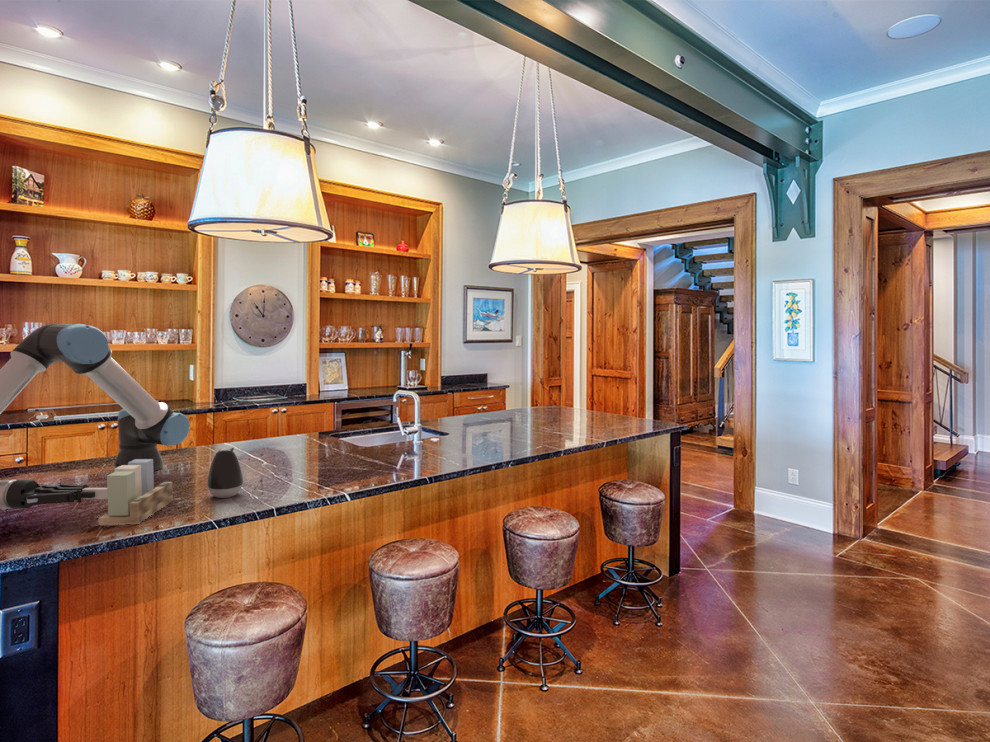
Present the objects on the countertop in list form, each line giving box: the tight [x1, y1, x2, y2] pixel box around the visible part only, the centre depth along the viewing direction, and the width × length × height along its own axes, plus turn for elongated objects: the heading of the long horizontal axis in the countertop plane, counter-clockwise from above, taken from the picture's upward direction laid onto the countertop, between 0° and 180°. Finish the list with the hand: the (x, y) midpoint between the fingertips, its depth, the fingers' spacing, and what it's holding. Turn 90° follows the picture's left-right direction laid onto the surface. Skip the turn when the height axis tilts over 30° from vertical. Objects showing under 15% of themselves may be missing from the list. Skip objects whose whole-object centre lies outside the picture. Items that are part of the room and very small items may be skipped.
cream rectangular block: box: [113, 465, 142, 498], centre depth 155 cm, size 4×5×11 cm
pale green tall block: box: [106, 471, 136, 516], centre depth 149 cm, size 4×5×11 cm
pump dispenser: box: [206, 446, 244, 499], centre depth 173 cm, size 10×10×15 cm
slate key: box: [128, 459, 155, 495], centre depth 162 cm, size 4×5×11 cm
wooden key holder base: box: [98, 481, 174, 526], centre depth 156 cm, size 20×10×6 cm, turn 7°
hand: (110, 493), depth 148 cm, fingers closed
